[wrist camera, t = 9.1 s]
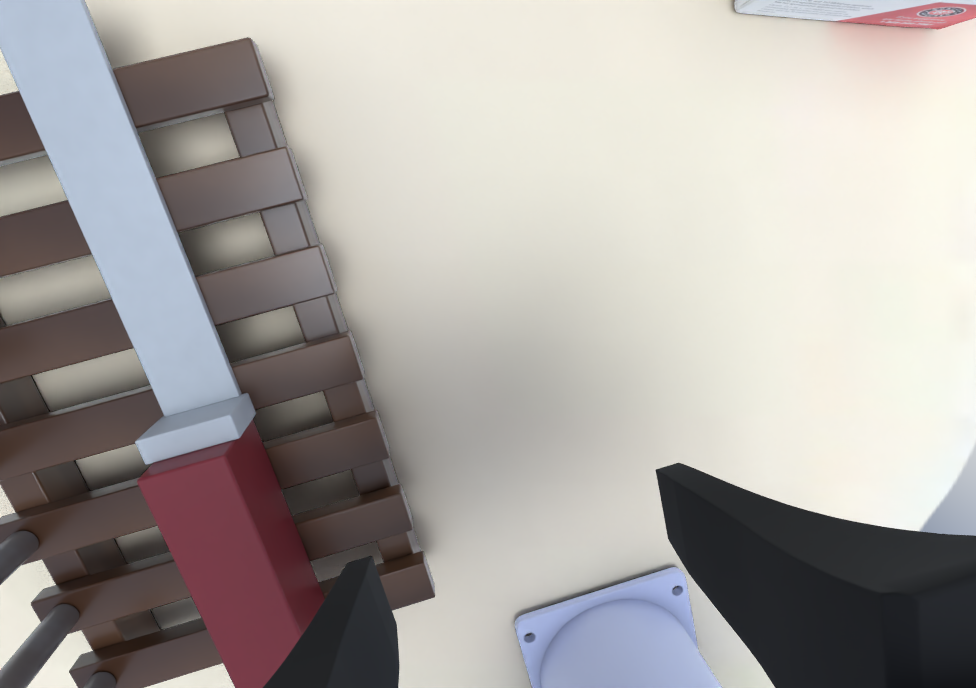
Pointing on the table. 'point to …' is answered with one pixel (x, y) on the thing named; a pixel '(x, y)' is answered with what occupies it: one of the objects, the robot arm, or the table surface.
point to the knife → (168, 351)
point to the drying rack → (126, 416)
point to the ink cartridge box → (868, 11)
